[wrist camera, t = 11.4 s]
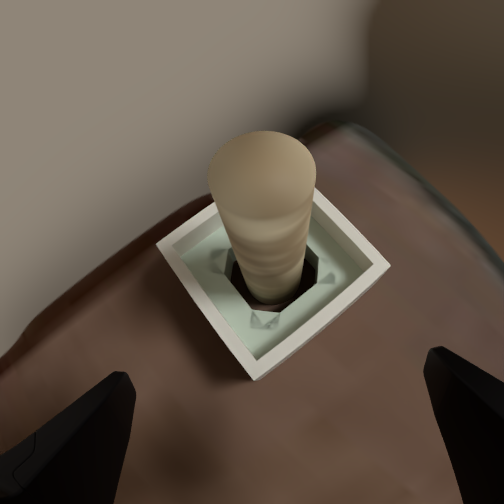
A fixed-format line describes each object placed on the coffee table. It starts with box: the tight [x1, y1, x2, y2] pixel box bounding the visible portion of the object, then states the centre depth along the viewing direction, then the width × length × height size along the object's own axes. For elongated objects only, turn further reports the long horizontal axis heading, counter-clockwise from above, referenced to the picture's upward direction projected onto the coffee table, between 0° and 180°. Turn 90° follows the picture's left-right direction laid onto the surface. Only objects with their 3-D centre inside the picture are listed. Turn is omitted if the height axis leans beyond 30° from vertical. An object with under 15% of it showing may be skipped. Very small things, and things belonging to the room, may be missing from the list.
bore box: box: [156, 187, 391, 381], centre depth 21 cm, size 11×11×4 cm
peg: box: [207, 131, 316, 305], centre depth 17 cm, size 4×4×13 cm
